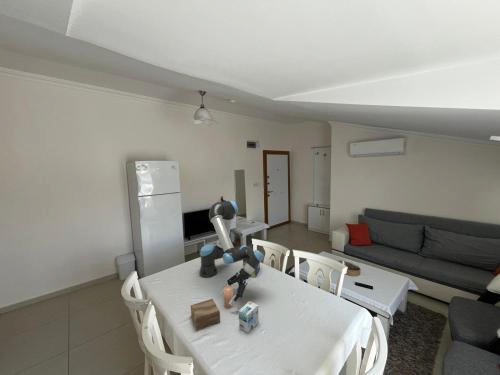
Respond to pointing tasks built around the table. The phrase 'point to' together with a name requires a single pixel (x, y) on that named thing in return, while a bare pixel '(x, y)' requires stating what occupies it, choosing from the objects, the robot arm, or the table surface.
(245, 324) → the light bulb box
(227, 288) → the terracotta canister
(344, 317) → the table surface
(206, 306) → the walnut box
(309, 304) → the table surface
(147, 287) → the table surface
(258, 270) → the protein box
